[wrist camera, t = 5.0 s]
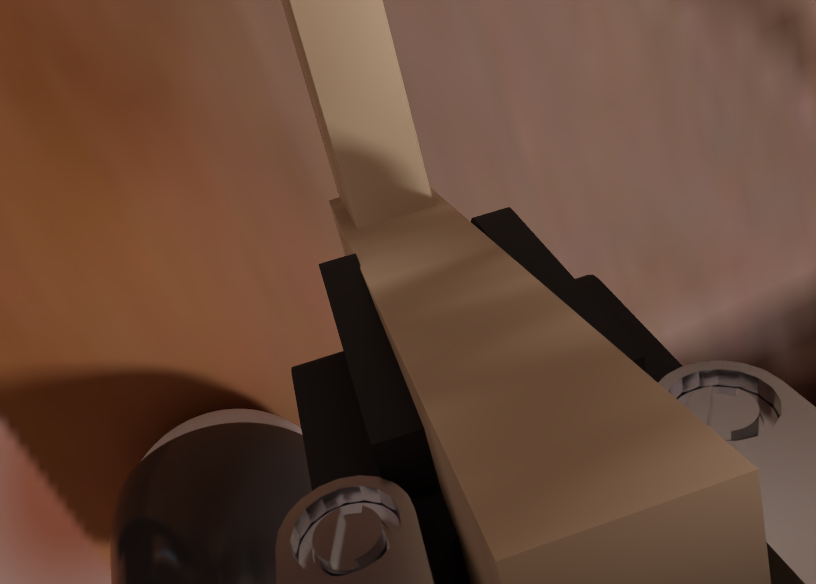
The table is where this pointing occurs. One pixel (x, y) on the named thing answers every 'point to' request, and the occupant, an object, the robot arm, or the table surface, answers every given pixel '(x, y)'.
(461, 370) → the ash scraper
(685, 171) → the table surface
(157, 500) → the pump dispenser
